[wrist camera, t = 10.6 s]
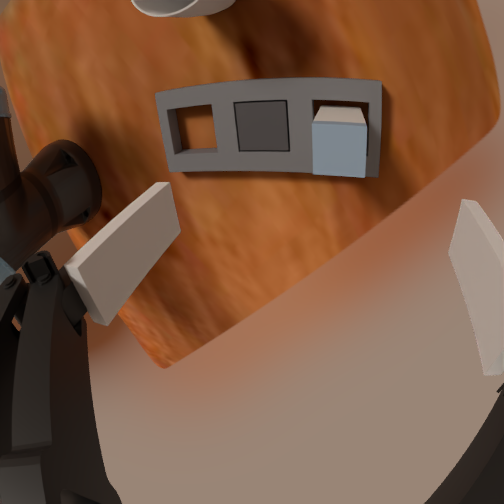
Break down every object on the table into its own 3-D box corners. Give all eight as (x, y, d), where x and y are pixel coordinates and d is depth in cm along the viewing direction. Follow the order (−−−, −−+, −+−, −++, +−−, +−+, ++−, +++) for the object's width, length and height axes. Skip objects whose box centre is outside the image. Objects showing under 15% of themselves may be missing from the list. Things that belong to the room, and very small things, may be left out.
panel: (177, 166, 37) (169, 172, 36) (163, 90, 31) (154, 93, 30) (376, 171, 30) (378, 177, 29) (379, 80, 25) (381, 81, 23)
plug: (322, 141, 30) (313, 174, 23) (321, 105, 28) (311, 123, 20) (359, 143, 29) (364, 177, 22) (359, 107, 27) (366, 126, 19)
